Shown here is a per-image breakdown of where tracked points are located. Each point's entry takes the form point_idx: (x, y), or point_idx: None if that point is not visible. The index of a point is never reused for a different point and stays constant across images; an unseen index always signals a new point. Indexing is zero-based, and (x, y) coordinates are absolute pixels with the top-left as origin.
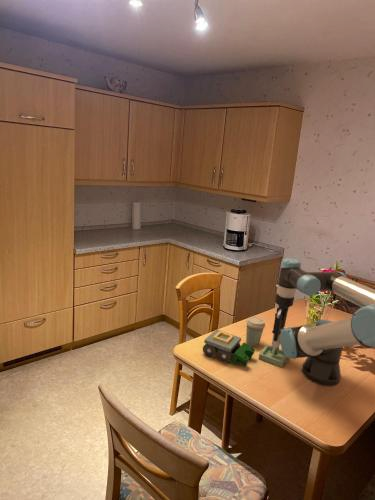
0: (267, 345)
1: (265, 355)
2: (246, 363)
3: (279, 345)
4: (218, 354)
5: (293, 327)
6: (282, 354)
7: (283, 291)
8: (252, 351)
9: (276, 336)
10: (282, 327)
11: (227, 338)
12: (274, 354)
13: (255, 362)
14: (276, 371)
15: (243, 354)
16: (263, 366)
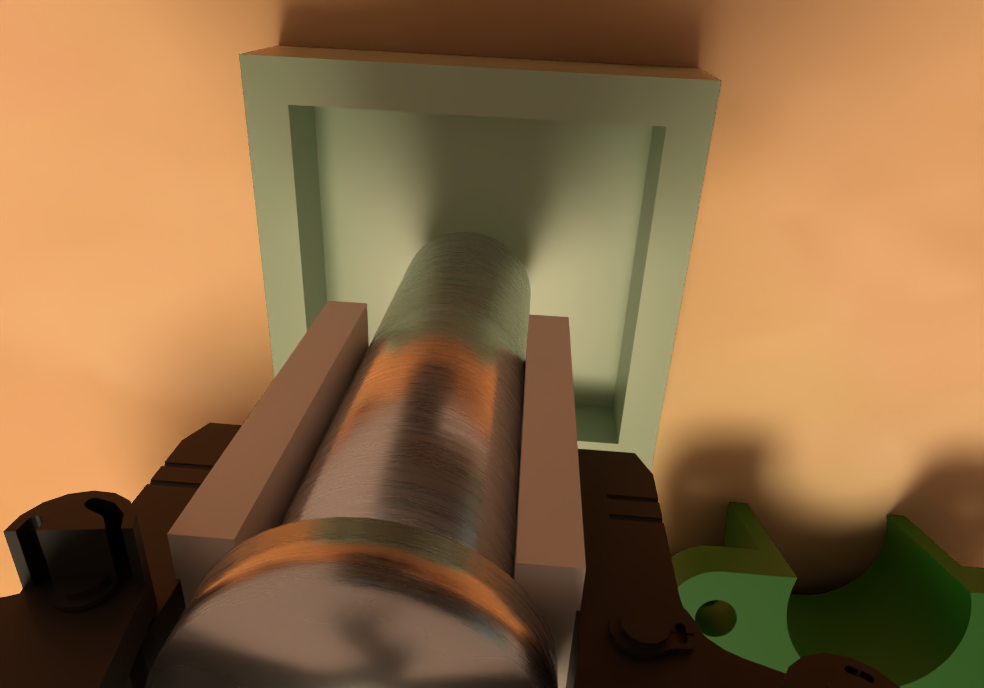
0: None
1: (641, 396)
2: (927, 541)
3: (446, 306)
4: None
5: None
6: (314, 157)
7: None
8: (772, 600)
9: (664, 591)
10: (125, 667)
11: None
12: (528, 283)
13: (745, 439)
14: (859, 127)
15: (971, 685)
16: (800, 330)
